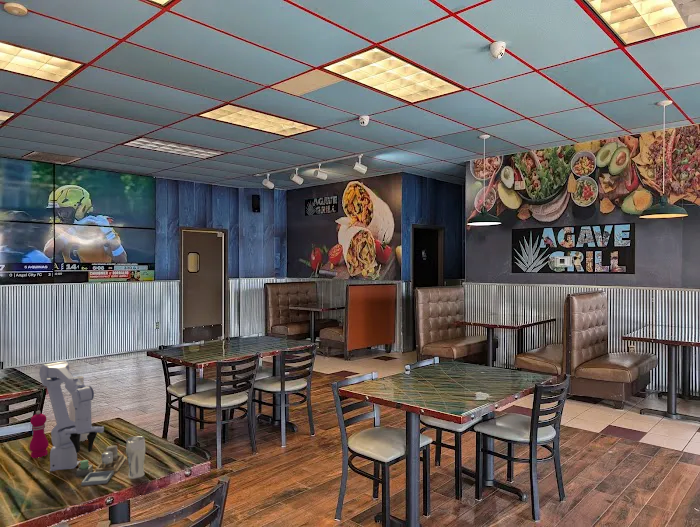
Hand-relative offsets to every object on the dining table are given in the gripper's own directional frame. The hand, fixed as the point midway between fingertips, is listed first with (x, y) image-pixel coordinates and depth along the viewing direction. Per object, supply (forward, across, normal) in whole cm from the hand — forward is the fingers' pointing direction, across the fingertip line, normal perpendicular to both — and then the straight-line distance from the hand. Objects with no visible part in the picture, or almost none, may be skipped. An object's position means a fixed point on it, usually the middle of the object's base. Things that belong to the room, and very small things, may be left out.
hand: (84, 451), depth 201 cm
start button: (+8, 0, 0) cm, 8 cm away
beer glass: (+10, +21, -6) cm, 24 cm away
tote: (+9, +7, -7) cm, 14 cm away
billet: (+8, +8, +2) cm, 12 cm away
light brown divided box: (+9, +8, +6) cm, 14 cm away
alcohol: (+10, -16, +44) cm, 48 cm away
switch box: (+9, 0, 0) cm, 9 cm away
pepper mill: (+10, -27, +26) cm, 39 cm away
